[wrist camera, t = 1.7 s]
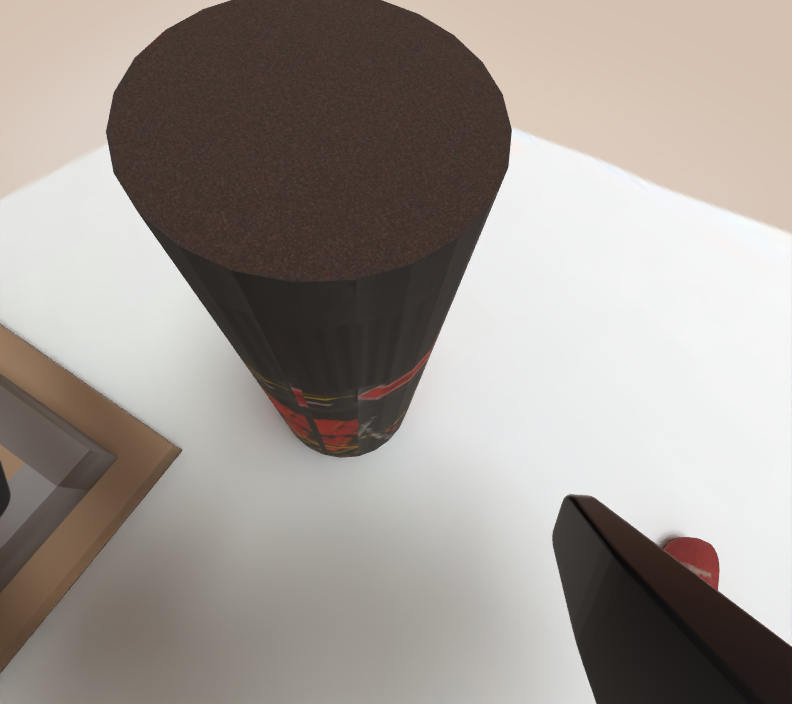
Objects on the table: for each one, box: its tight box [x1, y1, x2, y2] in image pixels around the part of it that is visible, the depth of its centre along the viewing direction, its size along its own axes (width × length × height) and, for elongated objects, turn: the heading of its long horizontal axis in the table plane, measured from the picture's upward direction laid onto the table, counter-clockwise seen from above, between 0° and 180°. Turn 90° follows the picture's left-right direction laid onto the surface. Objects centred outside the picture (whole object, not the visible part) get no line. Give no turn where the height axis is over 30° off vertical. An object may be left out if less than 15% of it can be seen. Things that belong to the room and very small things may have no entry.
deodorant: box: [106, 0, 512, 457], centre depth 13 cm, size 6×6×15 cm
